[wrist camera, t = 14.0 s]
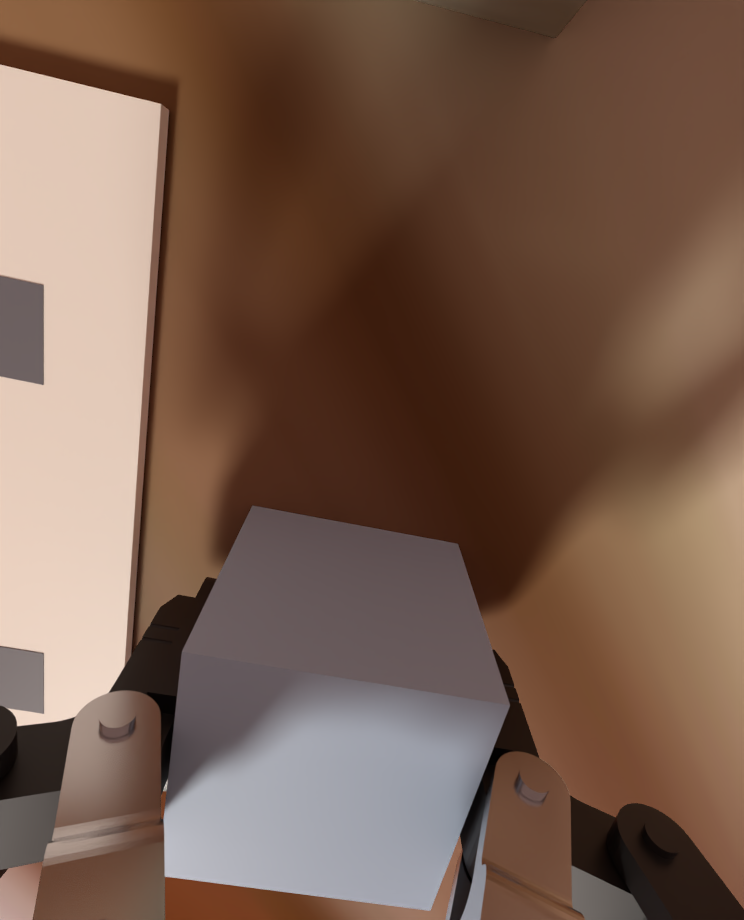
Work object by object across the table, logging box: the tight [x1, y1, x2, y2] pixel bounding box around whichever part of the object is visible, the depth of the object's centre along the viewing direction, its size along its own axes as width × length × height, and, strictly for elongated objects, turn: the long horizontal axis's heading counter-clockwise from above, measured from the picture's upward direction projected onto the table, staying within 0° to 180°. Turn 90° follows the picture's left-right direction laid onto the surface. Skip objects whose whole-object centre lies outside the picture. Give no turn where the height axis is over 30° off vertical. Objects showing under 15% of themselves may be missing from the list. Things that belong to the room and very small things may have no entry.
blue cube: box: [164, 505, 510, 911], centre depth 11 cm, size 5×5×5 cm
